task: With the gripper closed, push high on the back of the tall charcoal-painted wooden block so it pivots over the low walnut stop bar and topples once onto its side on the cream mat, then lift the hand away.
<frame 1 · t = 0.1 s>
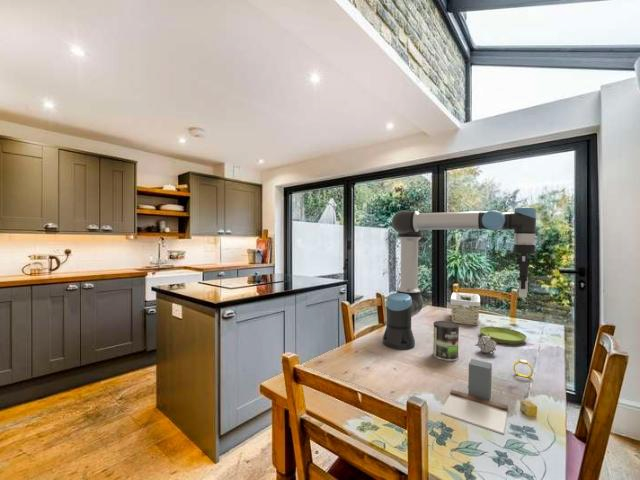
hand: (523, 294, 127), 28 cm above the table, tool pointing down, fingers open, 13 cm apart
storage basket: (464, 320, 188), on the table
tall block: (479, 396, 98), on the table
watch: (522, 376, 113), on the table
stop bar: (477, 402, 95), on the table
alphabet block: (528, 413, 90), on the table
saucer: (502, 339, 154), on the table
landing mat: (474, 412, 89), on the table
game die: (486, 353, 135), on the table
coffee can: (445, 356, 131), on the table
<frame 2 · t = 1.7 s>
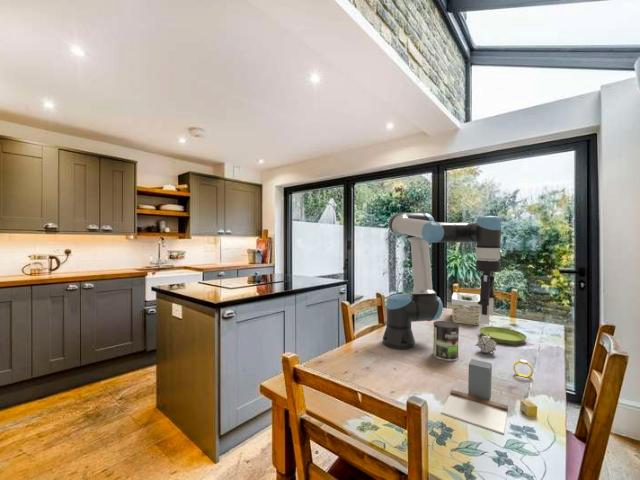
hand: (486, 319, 107), 23 cm above the table, tool pointing down, fingers open, 13 cm apart
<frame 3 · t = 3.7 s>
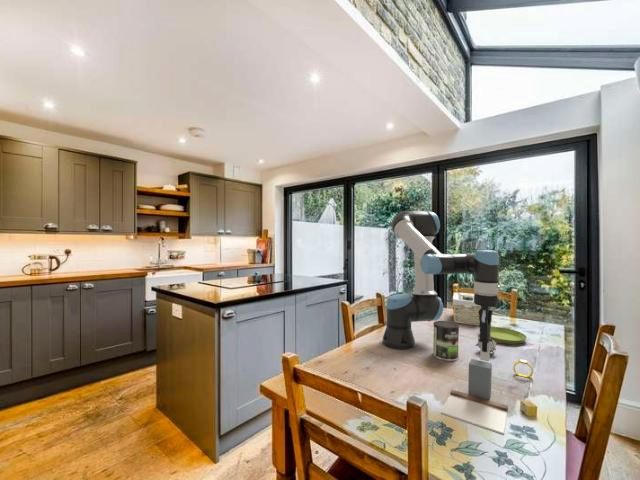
hand: (484, 359, 107), 9 cm above the table, tool pointing down, fingers closed
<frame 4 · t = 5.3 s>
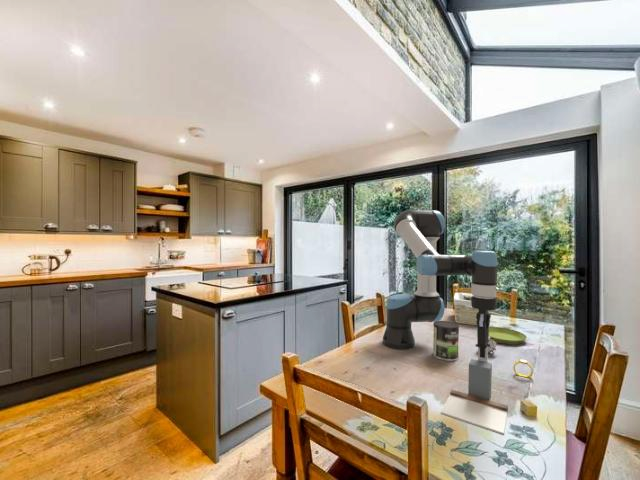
hand: (482, 365, 102), 9 cm above the table, tool pointing down, fingers closed
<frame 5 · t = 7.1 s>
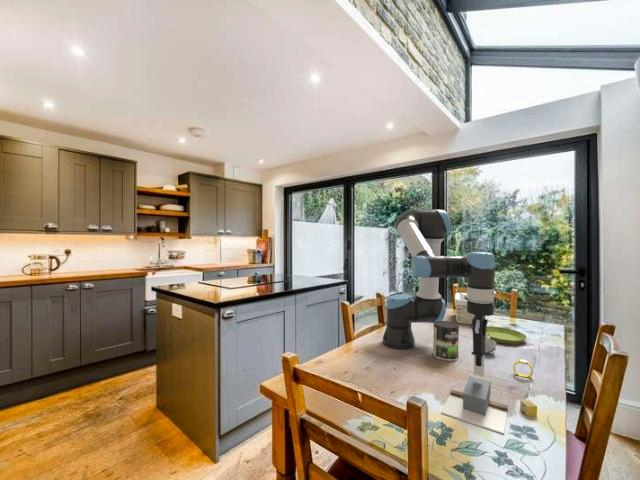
hand: (478, 374, 96), 8 cm above the table, tool pointing down, fingers closed
tall block: (480, 384, 98), point 4 cm above the table, tilted 97°, touching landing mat, stop bar
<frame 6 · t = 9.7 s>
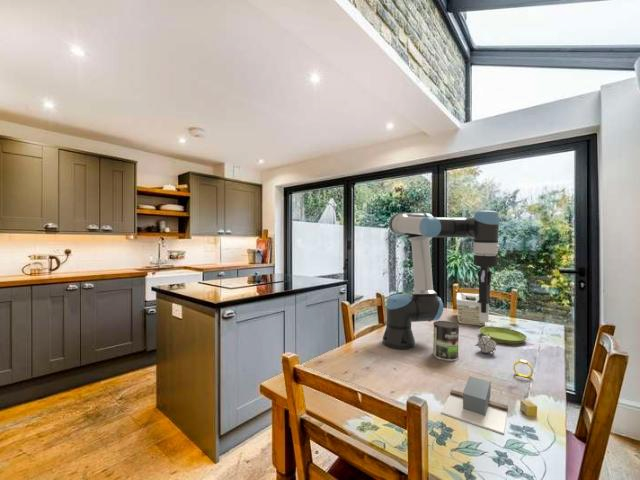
hand: (483, 321, 107), 22 cm above the table, tool pointing down, fingers closed
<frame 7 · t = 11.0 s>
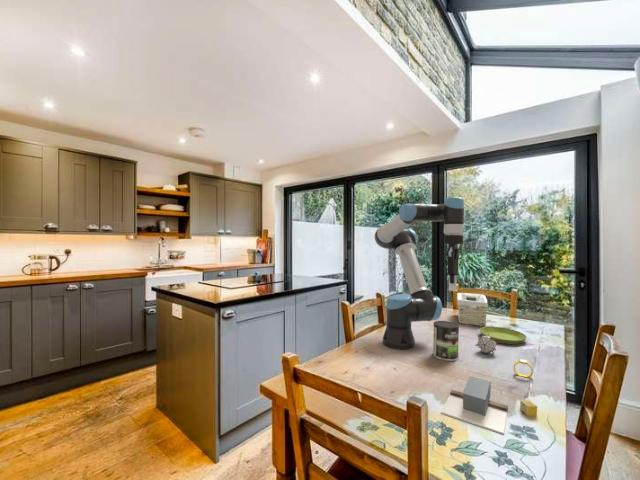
hand: (452, 290, 126), 29 cm above the table, tool pointing down, fingers closed
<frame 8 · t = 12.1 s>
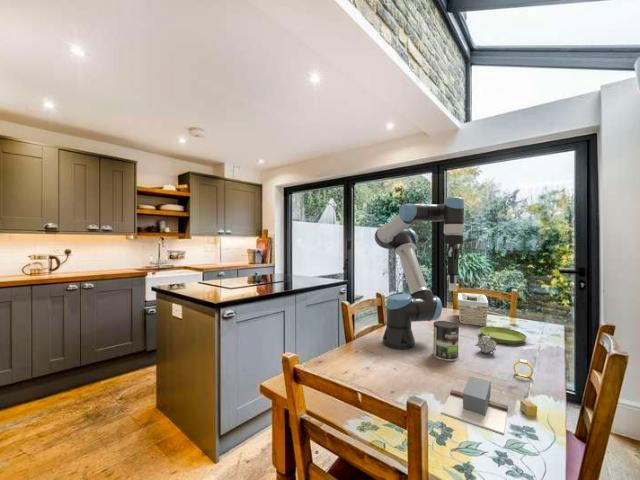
hand: (452, 290, 126), 29 cm above the table, tool pointing down, fingers closed
at the end: tall block tilted 97°; tall block inside the target area (3.3 cm from its centre), point 4.3 cm above the table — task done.
